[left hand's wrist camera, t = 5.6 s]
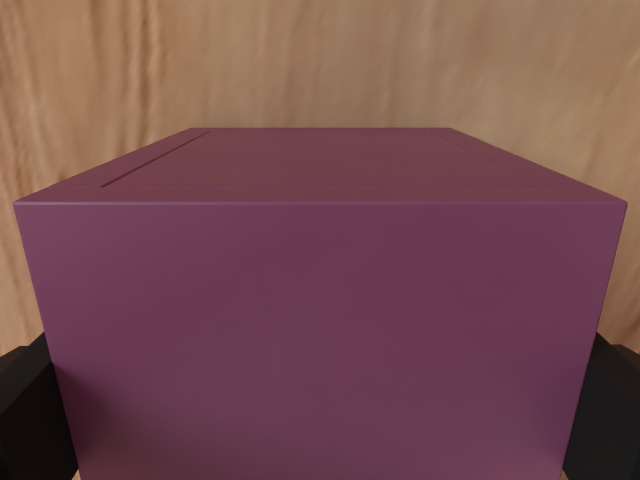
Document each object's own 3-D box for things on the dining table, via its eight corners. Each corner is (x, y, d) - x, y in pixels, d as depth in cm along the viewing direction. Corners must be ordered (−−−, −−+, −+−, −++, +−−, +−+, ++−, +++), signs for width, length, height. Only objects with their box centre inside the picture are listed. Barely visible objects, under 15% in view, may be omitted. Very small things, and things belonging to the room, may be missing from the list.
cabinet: (419, 453, 23) (495, 745, 13) (221, 453, 23) (145, 744, 13) (452, 127, 18) (630, 201, 7) (188, 127, 18) (10, 201, 7)
